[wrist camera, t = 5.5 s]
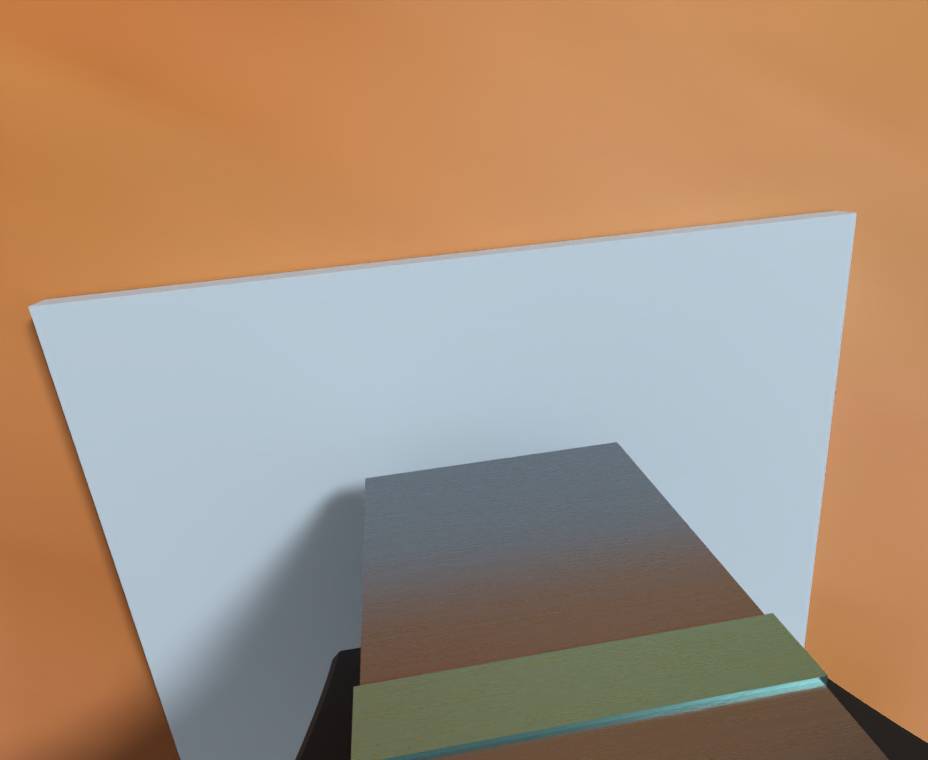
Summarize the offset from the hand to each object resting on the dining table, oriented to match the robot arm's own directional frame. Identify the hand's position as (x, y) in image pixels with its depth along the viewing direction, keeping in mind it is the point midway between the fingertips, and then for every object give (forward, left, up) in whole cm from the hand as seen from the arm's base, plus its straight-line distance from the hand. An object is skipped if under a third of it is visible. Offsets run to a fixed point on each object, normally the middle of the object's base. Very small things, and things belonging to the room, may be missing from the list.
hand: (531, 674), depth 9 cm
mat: (0, 0, -3) cm, 3 cm away
